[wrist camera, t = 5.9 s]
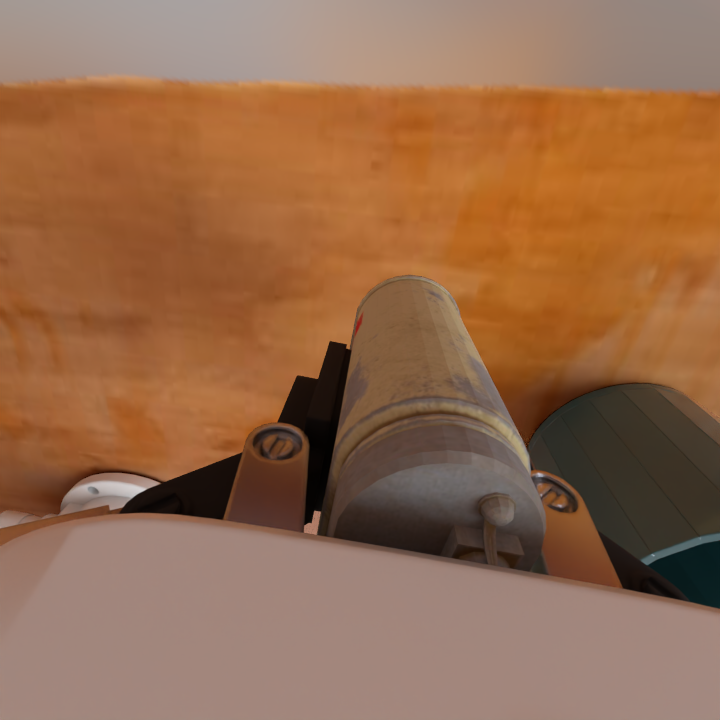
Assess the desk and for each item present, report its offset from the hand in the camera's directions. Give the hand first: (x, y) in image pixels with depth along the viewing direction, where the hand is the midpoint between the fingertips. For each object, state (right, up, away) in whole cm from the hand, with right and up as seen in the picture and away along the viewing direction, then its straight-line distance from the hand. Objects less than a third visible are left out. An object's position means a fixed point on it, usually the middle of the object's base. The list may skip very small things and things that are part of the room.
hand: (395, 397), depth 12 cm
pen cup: (+15, -5, +12) cm, 20 cm away
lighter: (0, +1, +2) cm, 2 cm away
